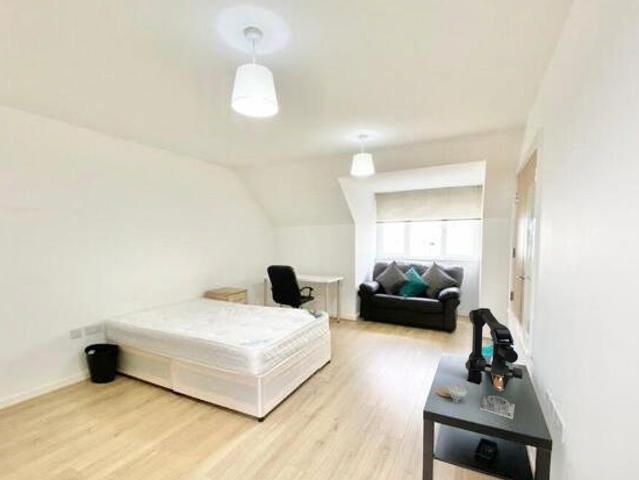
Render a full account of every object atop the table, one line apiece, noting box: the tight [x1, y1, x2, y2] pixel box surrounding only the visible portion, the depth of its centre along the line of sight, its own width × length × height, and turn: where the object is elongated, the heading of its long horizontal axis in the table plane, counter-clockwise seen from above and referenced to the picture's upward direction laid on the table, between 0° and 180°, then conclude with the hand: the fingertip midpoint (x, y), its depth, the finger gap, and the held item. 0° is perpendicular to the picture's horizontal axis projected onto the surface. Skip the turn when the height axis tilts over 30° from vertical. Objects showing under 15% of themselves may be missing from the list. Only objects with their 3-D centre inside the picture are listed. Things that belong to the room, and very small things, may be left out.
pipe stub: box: [492, 374, 505, 392], centre depth 150 cm, size 4×4×6 cm
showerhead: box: [445, 383, 468, 403], centre depth 155 cm, size 9×7×10 cm
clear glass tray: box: [479, 395, 516, 420], centre depth 151 cm, size 13×13×3 cm
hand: (498, 386), depth 150 cm, fingers closed on pipe stub, 4 cm apart
